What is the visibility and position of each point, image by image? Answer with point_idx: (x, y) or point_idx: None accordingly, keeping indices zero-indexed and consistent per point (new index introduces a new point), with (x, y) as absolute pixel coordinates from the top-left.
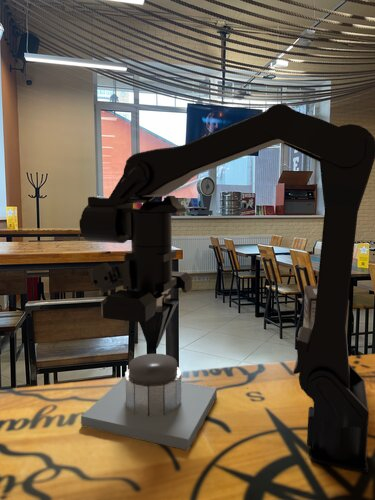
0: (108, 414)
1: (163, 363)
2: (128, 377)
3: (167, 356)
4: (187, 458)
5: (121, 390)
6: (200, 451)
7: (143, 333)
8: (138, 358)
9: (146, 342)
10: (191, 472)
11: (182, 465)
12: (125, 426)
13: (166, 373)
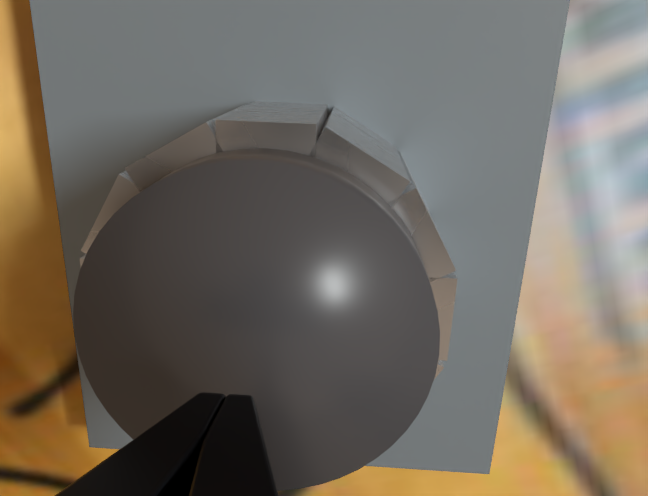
0: (96, 77)
1: (278, 409)
2: (144, 180)
3: (404, 401)
4: (72, 425)
5: (339, 23)
6: None
7: (64, 493)
8: (302, 205)
9: (153, 426)
10: (22, 448)
11: (36, 419)
12: (57, 200)
13: None
